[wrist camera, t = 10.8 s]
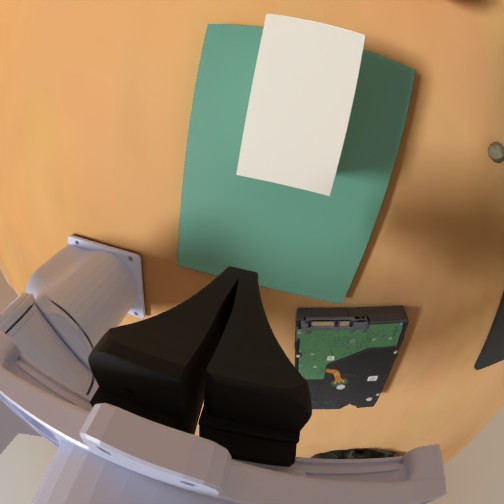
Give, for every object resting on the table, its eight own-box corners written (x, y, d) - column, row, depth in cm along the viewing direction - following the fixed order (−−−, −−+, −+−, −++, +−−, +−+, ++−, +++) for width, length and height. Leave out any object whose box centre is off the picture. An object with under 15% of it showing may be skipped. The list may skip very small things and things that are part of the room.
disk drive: (373, 388, 29) (402, 300, 22) (375, 406, 27) (410, 320, 20) (294, 392, 31) (293, 304, 24) (292, 410, 29) (292, 325, 22)
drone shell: (301, 452, 41) (297, 487, 34) (402, 435, 35) (406, 471, 28) (320, 475, 49) (317, 501, 42) (395, 462, 43) (397, 489, 36)
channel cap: (252, 159, 17) (236, 174, 13) (275, 40, 13) (266, 13, 9) (321, 174, 17) (329, 196, 13) (347, 55, 13) (365, 35, 8)
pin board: (181, 259, 23) (162, 285, 20) (212, 27, 14) (192, 10, 10) (340, 297, 22) (345, 329, 19) (409, 71, 13) (434, 64, 10)
